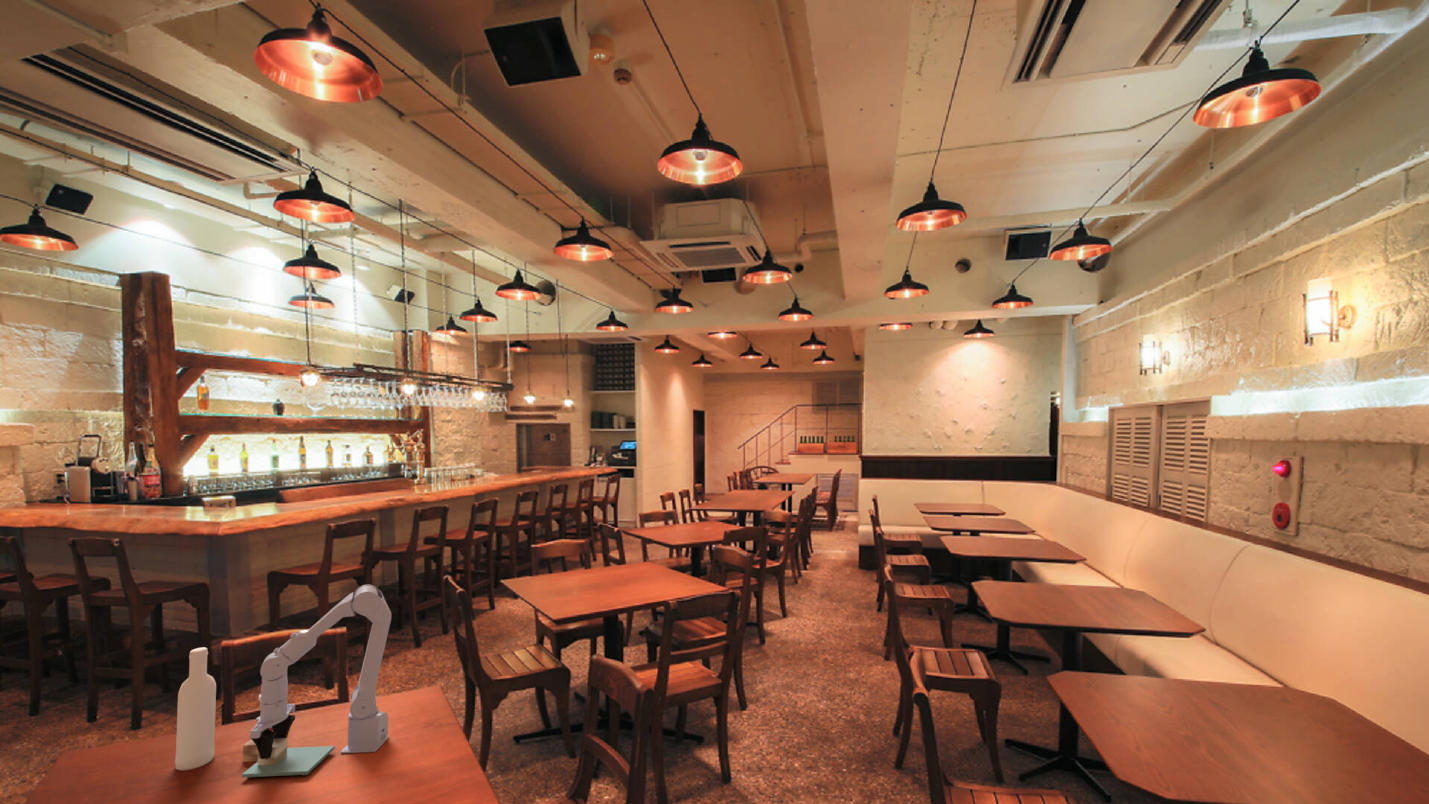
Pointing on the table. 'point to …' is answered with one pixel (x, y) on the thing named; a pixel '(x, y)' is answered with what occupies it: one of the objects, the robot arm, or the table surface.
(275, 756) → the cream block
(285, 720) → the robot arm
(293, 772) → the teal board
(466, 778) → the table surface
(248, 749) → the brown block
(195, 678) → the bottle
